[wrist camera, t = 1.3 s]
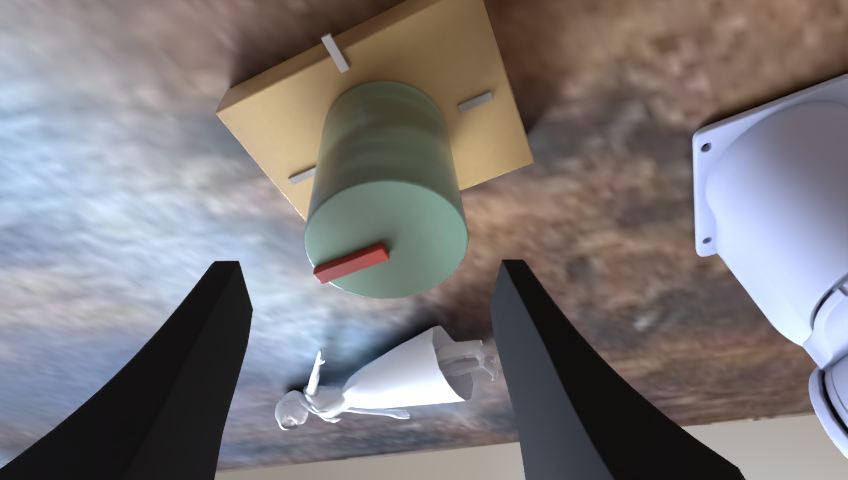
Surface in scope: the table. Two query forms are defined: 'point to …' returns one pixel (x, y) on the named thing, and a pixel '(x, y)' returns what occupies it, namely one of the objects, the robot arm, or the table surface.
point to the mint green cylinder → (385, 195)
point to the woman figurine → (393, 381)
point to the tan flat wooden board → (385, 61)
